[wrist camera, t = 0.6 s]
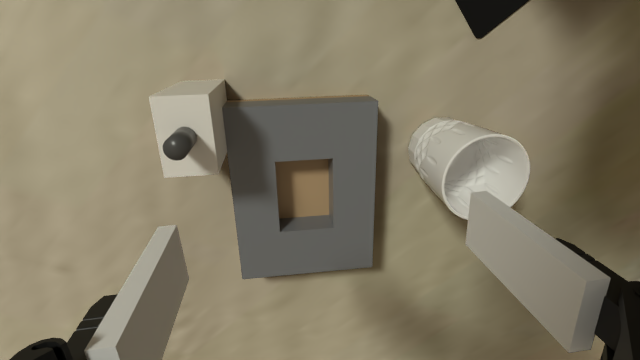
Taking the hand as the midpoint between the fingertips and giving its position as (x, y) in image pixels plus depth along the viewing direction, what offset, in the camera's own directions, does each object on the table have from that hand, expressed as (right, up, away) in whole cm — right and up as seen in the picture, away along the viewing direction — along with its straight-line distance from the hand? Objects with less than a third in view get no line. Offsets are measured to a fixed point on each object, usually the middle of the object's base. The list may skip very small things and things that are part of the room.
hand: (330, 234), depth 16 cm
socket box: (-2, +2, +23) cm, 24 cm away
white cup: (+12, +6, +24) cm, 28 cm away
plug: (-11, +9, +19) cm, 24 cm away
